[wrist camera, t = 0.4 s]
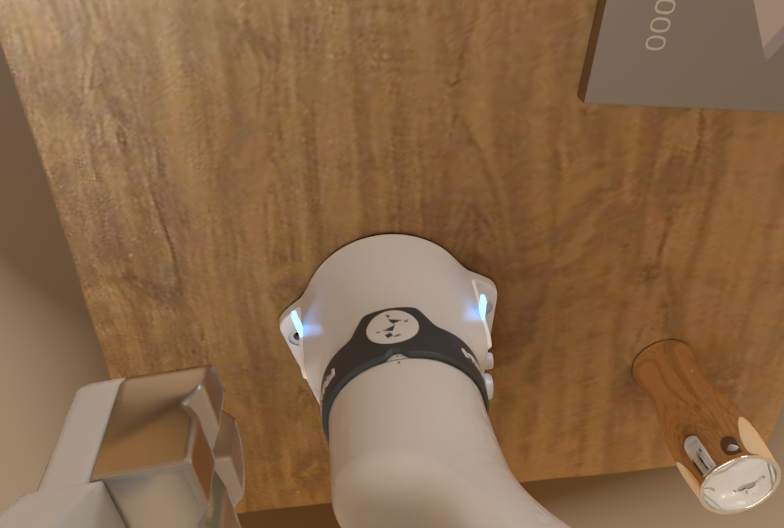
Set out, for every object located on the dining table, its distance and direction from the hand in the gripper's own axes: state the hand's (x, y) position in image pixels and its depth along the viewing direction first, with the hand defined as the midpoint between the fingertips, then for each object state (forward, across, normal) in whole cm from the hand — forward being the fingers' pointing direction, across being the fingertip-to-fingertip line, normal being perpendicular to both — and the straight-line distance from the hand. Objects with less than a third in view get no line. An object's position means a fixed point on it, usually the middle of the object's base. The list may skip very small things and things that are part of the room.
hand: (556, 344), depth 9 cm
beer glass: (+46, +22, -44) cm, 67 cm away
